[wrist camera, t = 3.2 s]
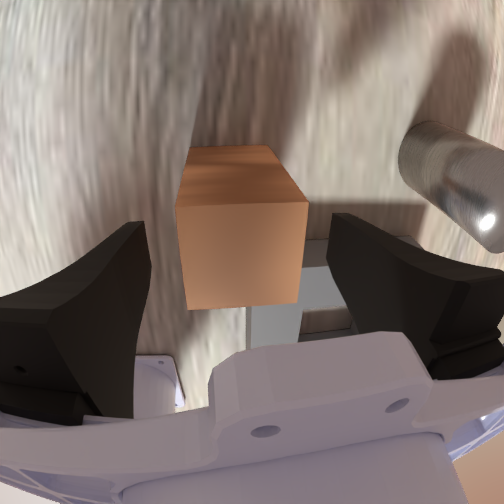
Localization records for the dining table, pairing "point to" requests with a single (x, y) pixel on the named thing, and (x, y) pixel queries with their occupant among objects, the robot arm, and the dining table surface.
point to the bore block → (301, 303)
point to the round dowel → (457, 178)
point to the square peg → (239, 228)
